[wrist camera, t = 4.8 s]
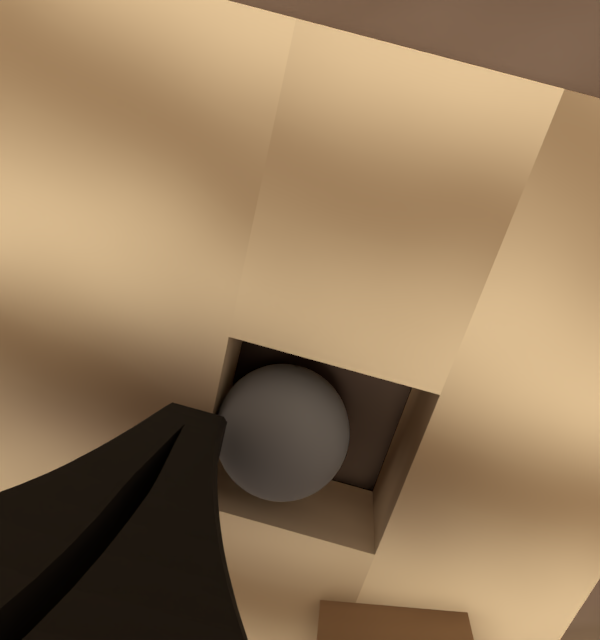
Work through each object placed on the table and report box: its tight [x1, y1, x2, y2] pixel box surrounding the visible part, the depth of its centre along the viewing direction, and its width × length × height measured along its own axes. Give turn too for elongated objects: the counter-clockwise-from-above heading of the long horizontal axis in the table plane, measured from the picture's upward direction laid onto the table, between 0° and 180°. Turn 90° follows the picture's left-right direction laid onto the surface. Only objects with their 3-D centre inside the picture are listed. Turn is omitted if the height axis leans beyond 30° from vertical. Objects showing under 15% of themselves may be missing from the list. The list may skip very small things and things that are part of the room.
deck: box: [0, 0, 600, 640], centre depth 13 cm, size 18×26×2 cm
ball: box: [217, 364, 350, 502], centre depth 13 cm, size 4×4×4 cm
